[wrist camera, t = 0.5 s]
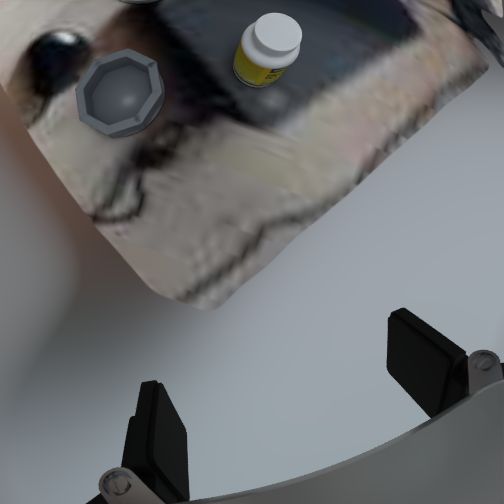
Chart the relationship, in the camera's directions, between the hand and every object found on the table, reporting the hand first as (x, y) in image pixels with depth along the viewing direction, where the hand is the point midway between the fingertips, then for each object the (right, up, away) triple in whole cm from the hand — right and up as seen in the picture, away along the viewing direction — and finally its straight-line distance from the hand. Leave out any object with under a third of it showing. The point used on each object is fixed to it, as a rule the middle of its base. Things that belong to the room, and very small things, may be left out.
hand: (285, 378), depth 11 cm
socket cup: (-17, +24, +20) cm, 36 cm away
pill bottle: (-1, +28, +23) cm, 36 cm away
